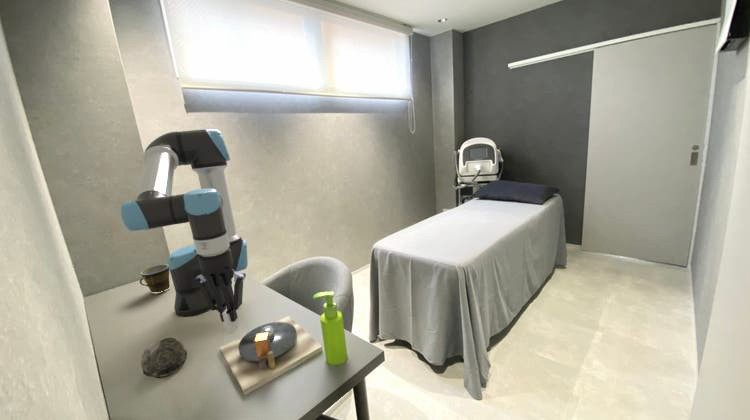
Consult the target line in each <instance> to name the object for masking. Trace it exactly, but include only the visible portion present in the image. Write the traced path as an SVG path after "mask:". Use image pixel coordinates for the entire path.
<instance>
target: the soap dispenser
mask: <svg viewBox="0 0 750 420" xmlns="http://www.w3.org/2000/svg"><path fill="white" fill-rule="evenodd" d="M334 297H335V292H334V291H321V292H317V293H315V294H313V297H312V299H313V300H317V299H322V298H325V303H324V304H323V313H322V314H321V315H320V317H319V320H320V325H321V327H320V328H321V333H322V341H323V347H324V354H325V361H326V363H328V365H331V366H339V365H341V364H343V363H345V362H346V361H347V358H348V351H347V343H346V341H347V340H346V335H345V326H344V325H345V324H344V317H343V313H342V312H341V311H340V310H338V307H337V302H335V301H334V300H333V298H334Z"/></svg>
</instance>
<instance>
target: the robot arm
mask: <svg viewBox="0 0 750 420" xmlns="http://www.w3.org/2000/svg"><path fill="white" fill-rule="evenodd" d="M142 158H143V159H142V160H143V163H144V165H145V166H144V169H143V173H142V176H141V180H140V184H139V189H138V193H137V197H136V200H134V199H132V200H130V201H129V200H128V201H125V202H124V203H122V205H121V206H120V216H121V220H122V223H123V225H124V226H125V228H126V229H127V230H129V231H130V232H131V231H132V232H137V231H143V230H146V231H149V230H152V229H157V228H163V227H168V226H174V225H181V224H186V223H188V224H189V226H190V230H191V235H192V239H193V244H190V245H187V246H184V247H181V248H178V249H177V250H175V251H173V252H172V253H171V254H169V256H168V257H167V265H169V274H170V276H171V280H172V284H173V288H174V290H175V297H174V298H175V299H174V306H173V309H174V312H175V315H176V316H177V317H179V318H191V317H196V316H200V315H203V314H204V313H207V312H209V311H217V312H218V313H219V317H220V321H221V322H222V323H224V327H225V331H226V334H227V335H233V334H234V333H235V331H237V329H238V324H237V319H238V313H237V310H239V308H241V306H242V304H243V297H244V295H243V293H244V291H243V290H244V280H245V278H246V275H247V274H246V273H245V272H242V273H239V272H241V271H243V270H246V269H247V268H248V246H247V240H246V239H243V238H242V235H241V234H240V233H238V232H237V230H236V225H235V221H234V215H233V210H232V207H231V200H230V195H229V189H228V185H227V181H226V176H225V169H227V167H228V162H229V161H230V160H231V157H230V155H229V152H228V149H227V145H226V142H225V140H224V137H223V134H222V132H221V131H220V130H219V129H215V128H214V129H213V128H211V129H209V128H208V129H207V128H205V129H193V130H182V131H171V132H167V133H164V134H162V135H160V136H158V137H157V138H155V139H154V140H153V141H151V142H150V143H149V144H148V145H147V147H145V149H144V152H143V157H142ZM179 166H180V167H181V166H190V167H191V170H192V171H193V172H195V173H196V174H197V177H198V181H199V186H200V188H199V189H194V190H190V191H187V192H186V193H181V194H174V195H173V194H172V192H173V191H172V190H173V184H174V175H175V174H174V173H175V170H176V169H177V168H178V167H179ZM233 282H234V286H233V285H232V284H233ZM233 288H234V289H233Z"/></svg>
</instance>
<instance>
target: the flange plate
mask: <svg viewBox="0 0 750 420" xmlns="http://www.w3.org/2000/svg"><path fill="white" fill-rule="evenodd" d="M243 336H244V337H243ZM243 336H242V337H243V338H242V340H241V341H240V343H239V353H240V356H241V358H242V359H243V360H245V361H247V362H250V363H259V368H265V367H267V364H268V359H267V353H268V352H269V351H272V352H273V355H274V360H275V359H277V358H279V357H281V356H283V355H284V354H286V353H287V352H288V351H290V350H291V349H292V348H293V346H294V345H295V343H296V341H297V333H296V329H295V327H294V326H293V325H291V324H289V323H285V322H276V321H274V322H268V323H265V324H262V325H259V326H257V327H256V328H253V329H252V330H250V331H248V332H247V333H246V334H245V335H243Z"/></svg>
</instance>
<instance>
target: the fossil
mask: <svg viewBox="0 0 750 420" xmlns="http://www.w3.org/2000/svg"><path fill="white" fill-rule="evenodd" d="M187 356H188V351H187V349H186V348H185V347H184V344H183V342H182V341H181V340H180V339H179V340H178V339H177V338H175V337H174V336H165V337H163V338H159V339H158V340H157V341H155V342H153V343H152V344H151V345H149V346H147V347H146V348H145V349H144V350H143V353H142V355H141V361H140V363H141V364H140V366H141V368H142V374H143V375H145V376H146V377H152V378H155V379H164V378H167V377H170V376H172V375H174V374H176V373H177V372H179V370H181V368H182V367H183V366H184V364H185V363H186V360H187V358H188V357H187Z"/></svg>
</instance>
